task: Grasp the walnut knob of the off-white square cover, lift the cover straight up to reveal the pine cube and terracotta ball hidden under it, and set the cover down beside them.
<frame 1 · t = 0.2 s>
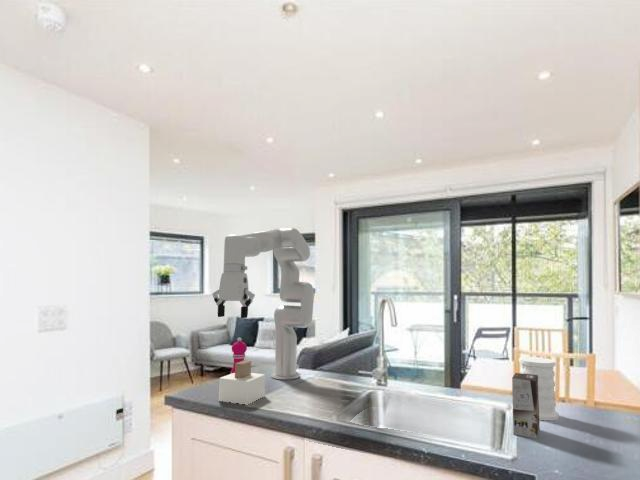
hand: (232, 317, 149), 30 cm above the worktop, fingers open, 9 cm apart
decorative container: (538, 415, 138), on the worktop
pine cube: (241, 397, 154), on the worktop
terracotta ball: (243, 401, 149), on the worktop
cover: (242, 398, 152), on the worktop
pepper mill: (238, 389, 166), on the worktop
coffee box: (526, 432, 122), on the worktop
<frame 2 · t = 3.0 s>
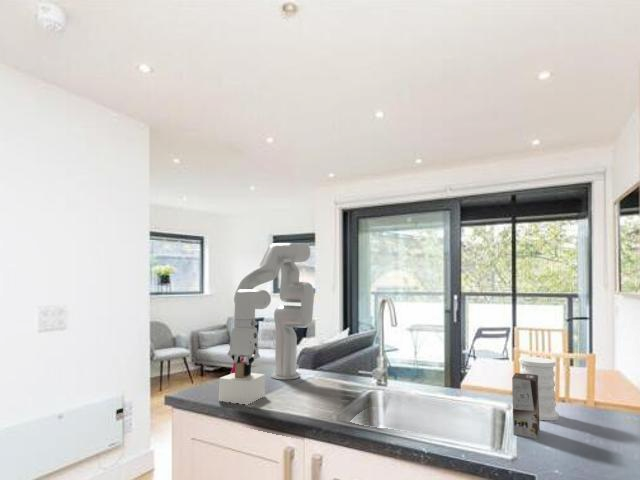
hand: (242, 374, 153), 9 cm above the worktop, fingers closed on cover, 3 cm apart
cover: (242, 398, 152), on the worktop, touching gripper
everything else where it was.
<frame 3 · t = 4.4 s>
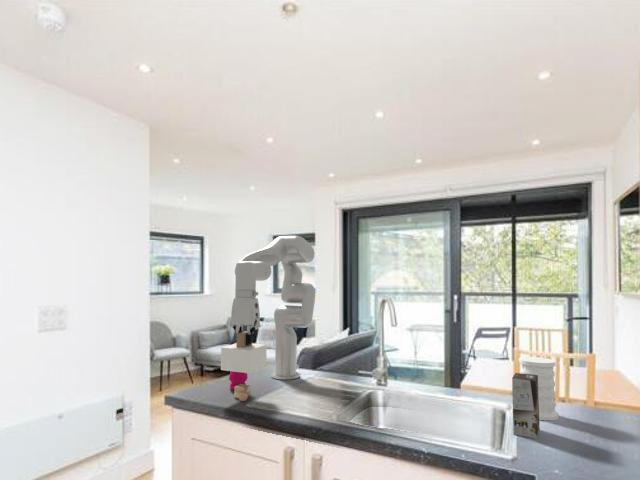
hand: (244, 344, 154), 20 cm above the worktop, fingers closed on cover, 3 cm apart
cover: (243, 368, 154), point 11 cm above the worktop, touching gripper
everything else where it was.
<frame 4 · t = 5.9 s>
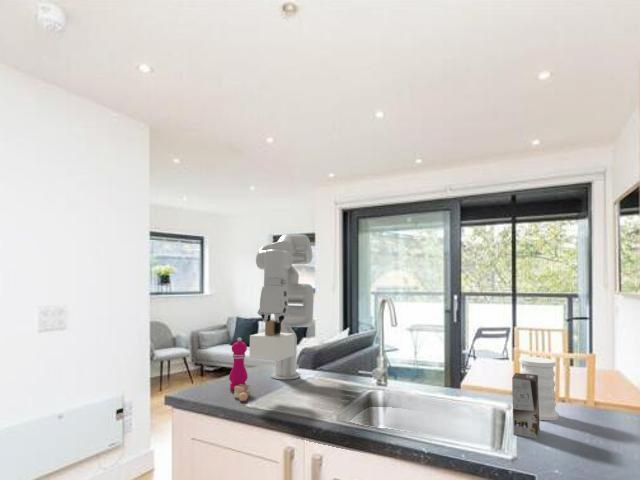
hand: (272, 332, 153), 24 cm above the worktop, fingers closed on cover, 3 cm apart
cover: (272, 356, 153), point 15 cm above the worktop, touching gripper
everything else where it was.
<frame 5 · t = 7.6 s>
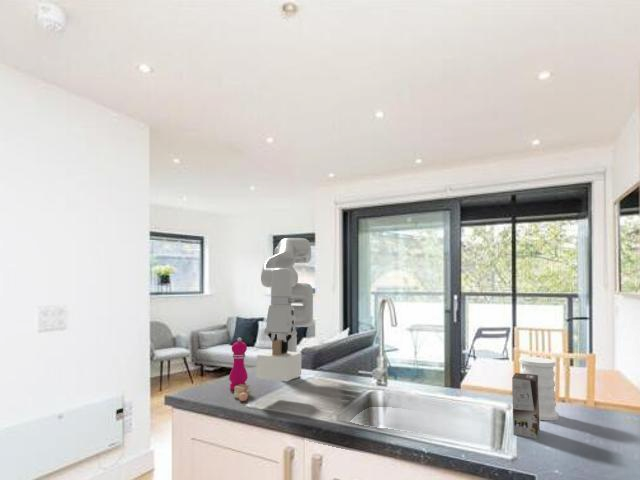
hand: (279, 351, 152), 17 cm above the worktop, fingers closed on cover, 3 cm apart
cover: (279, 376, 151), point 9 cm above the worktop, touching gripper
everything else where it was.
when the fingers open (11 cm above the worktop, at t = 9.0 s): cover drops 2 cm, on the worktop.
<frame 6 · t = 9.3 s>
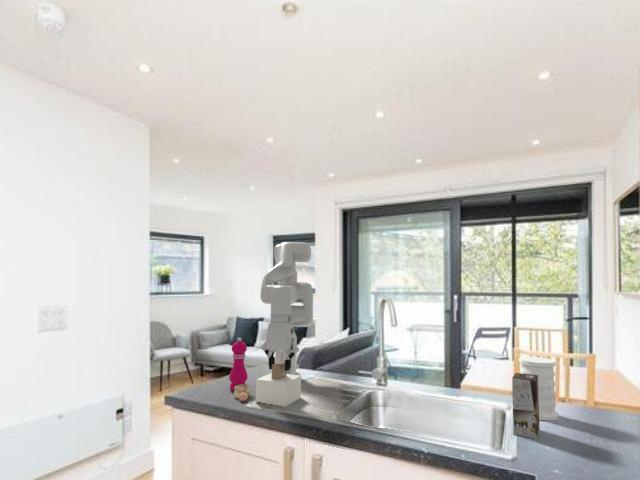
hand: (279, 369, 152), 11 cm above the worktop, fingers open, 5 cm apart
cover: (278, 400, 151), on the worktop
everything else where it was.
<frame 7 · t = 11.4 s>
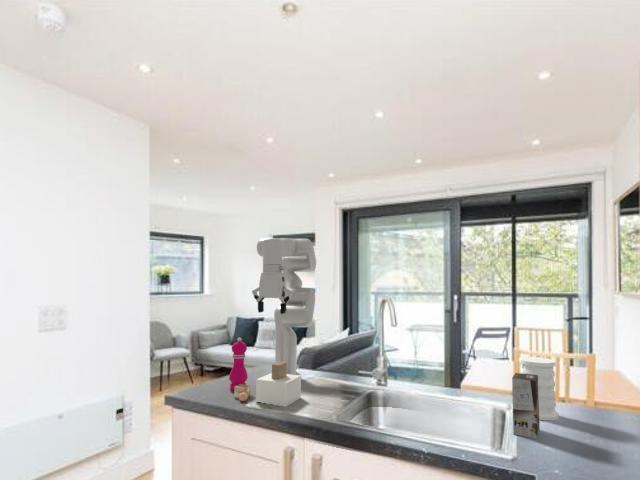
hand: (271, 312, 164), 30 cm above the worktop, fingers open, 9 cm apart
nothing on the worktop moved.
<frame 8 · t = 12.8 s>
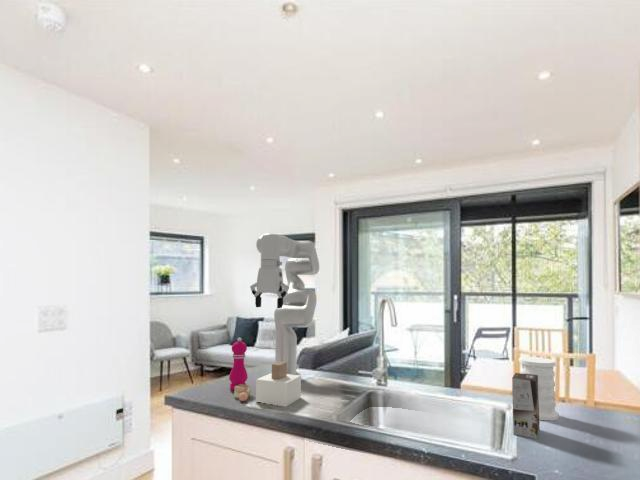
hand: (269, 307, 166), 32 cm above the worktop, fingers open, 9 cm apart
nothing on the worktop moved.
at the end: cover inside the target area (0.1 cm from its centre), on the worktop; cover tilted 0°; the gripper is holding nothing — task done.
